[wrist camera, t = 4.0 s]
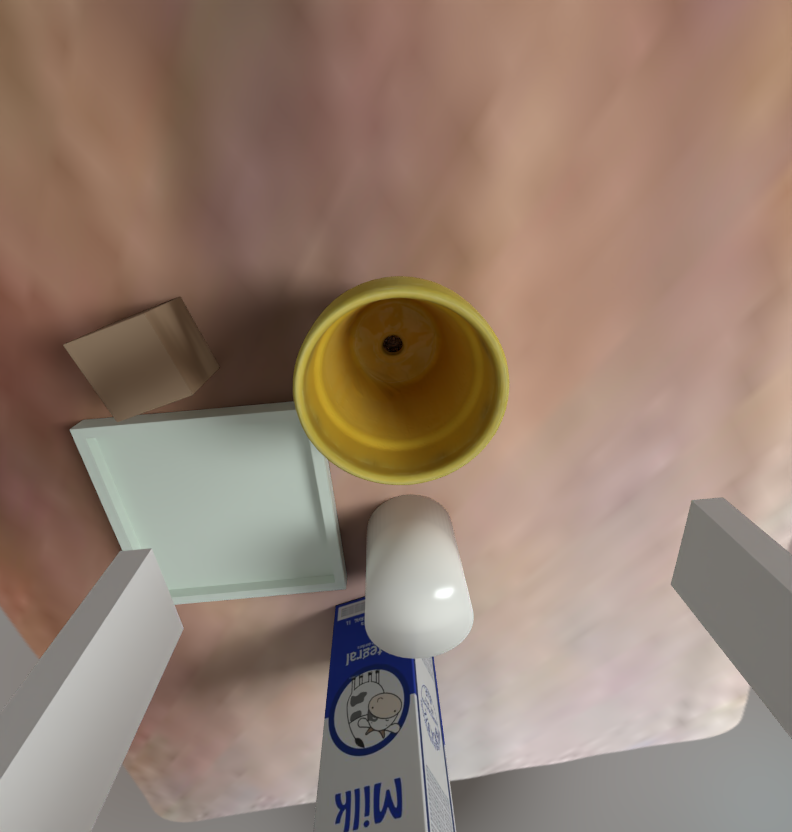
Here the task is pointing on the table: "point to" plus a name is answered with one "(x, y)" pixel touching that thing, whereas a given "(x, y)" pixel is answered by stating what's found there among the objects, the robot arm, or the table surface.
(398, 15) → the table surface
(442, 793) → the milk carton
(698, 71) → the table surface
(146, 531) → the tray
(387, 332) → the plant pot
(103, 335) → the walnut block
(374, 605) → the white rounded capsule
